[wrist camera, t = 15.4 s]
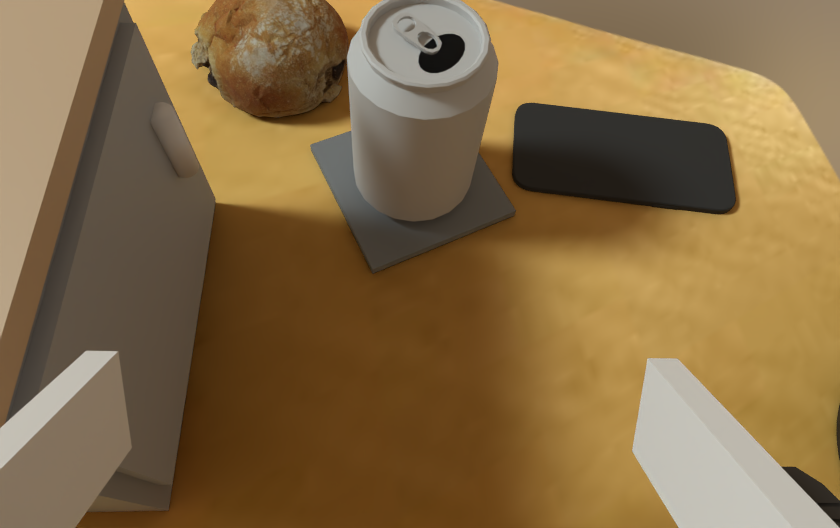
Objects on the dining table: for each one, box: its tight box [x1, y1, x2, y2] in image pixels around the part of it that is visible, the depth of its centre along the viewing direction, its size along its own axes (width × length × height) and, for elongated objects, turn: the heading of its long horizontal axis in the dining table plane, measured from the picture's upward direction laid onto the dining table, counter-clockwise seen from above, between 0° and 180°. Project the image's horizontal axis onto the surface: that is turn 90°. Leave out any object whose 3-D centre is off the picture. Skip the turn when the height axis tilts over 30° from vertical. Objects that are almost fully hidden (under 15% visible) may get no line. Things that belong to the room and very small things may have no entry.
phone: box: [512, 103, 736, 214], centre depth 41 cm, size 7×1×15 cm
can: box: [347, 0, 498, 222], centre depth 33 cm, size 8×8×12 cm
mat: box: [310, 131, 516, 273], centre depth 39 cm, size 10×10×1 cm
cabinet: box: [0, 0, 216, 512], centre depth 25 cm, size 14×19×17 cm
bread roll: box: [191, 0, 348, 118], centre depth 41 cm, size 10×10×8 cm
